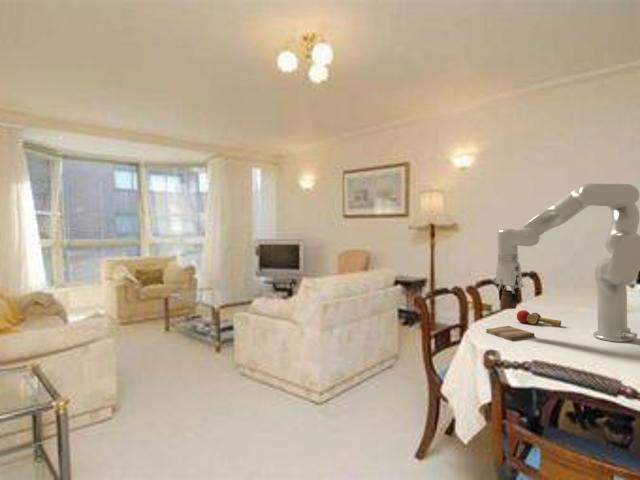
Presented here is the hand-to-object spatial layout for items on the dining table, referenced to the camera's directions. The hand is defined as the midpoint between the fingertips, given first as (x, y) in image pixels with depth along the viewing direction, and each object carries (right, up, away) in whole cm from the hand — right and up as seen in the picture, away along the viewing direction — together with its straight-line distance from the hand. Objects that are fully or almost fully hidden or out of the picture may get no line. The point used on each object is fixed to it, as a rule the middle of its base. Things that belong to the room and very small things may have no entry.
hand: (508, 300), depth 170 cm
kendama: (+21, -13, +15) cm, 29 cm away
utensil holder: (0, -3, 0) cm, 3 cm away
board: (+1, -14, +1) cm, 14 cm away
